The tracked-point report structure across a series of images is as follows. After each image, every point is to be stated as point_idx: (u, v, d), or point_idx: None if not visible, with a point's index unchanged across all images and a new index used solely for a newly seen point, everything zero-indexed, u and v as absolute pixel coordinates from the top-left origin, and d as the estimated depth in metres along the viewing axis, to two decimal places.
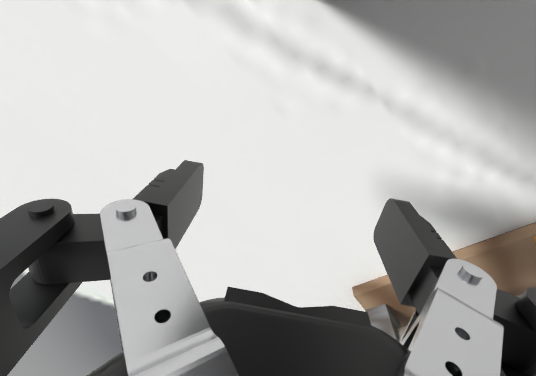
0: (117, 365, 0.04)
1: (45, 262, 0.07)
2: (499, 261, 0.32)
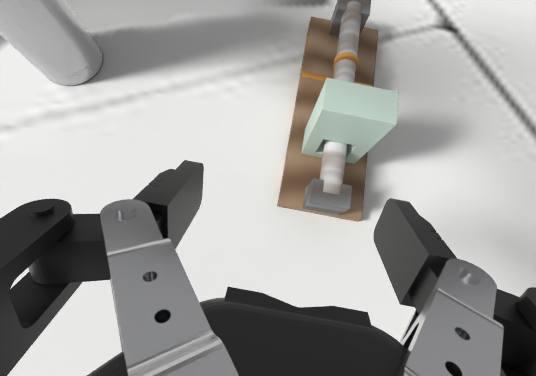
0: (117, 365, 0.04)
1: (45, 262, 0.07)
2: (312, 99, 0.43)
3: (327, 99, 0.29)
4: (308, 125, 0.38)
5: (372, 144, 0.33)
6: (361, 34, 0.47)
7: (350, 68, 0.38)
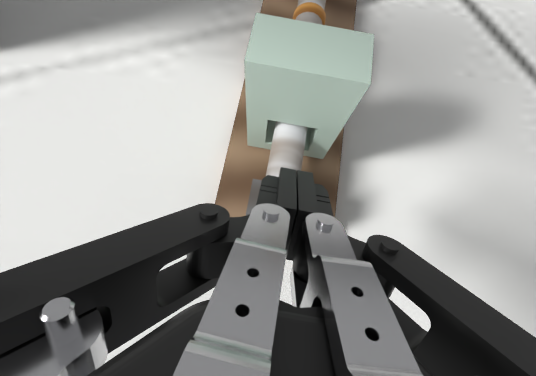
0: (117, 365, 0.04)
1: (210, 259, 0.08)
2: None
3: (254, 45, 0.17)
4: None
5: (340, 125, 0.22)
6: None
7: None
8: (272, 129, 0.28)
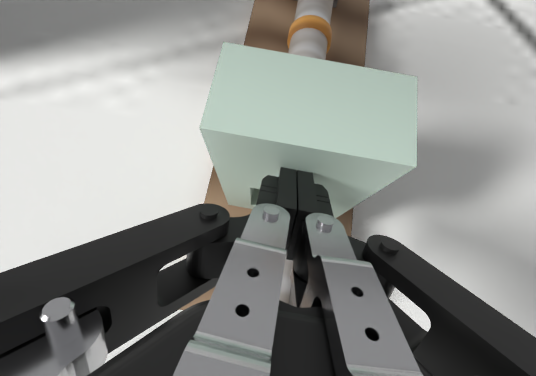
0: (117, 365, 0.04)
1: (210, 259, 0.08)
2: None
3: (218, 100, 0.10)
4: None
5: (356, 200, 0.15)
6: None
7: (314, 45, 0.20)
8: None
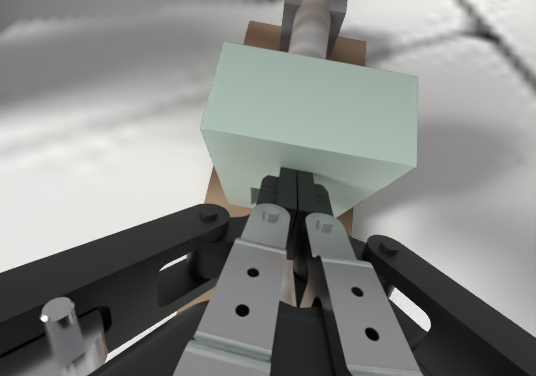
0: (117, 365, 0.04)
1: (210, 259, 0.08)
2: None
3: (218, 99, 0.10)
4: None
5: (356, 200, 0.15)
6: (337, 49, 0.27)
7: None
8: None
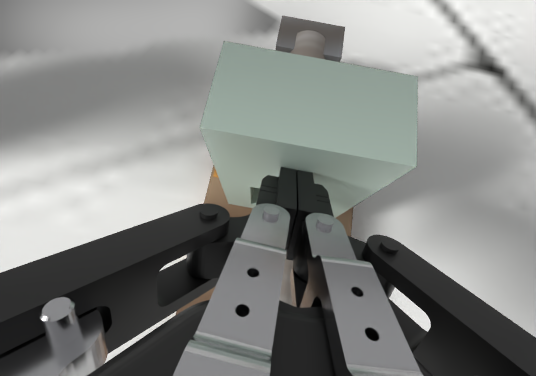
0: (117, 365, 0.04)
1: (210, 260, 0.08)
2: None
3: (218, 99, 0.10)
4: None
5: (356, 200, 0.15)
6: None
7: None
8: None
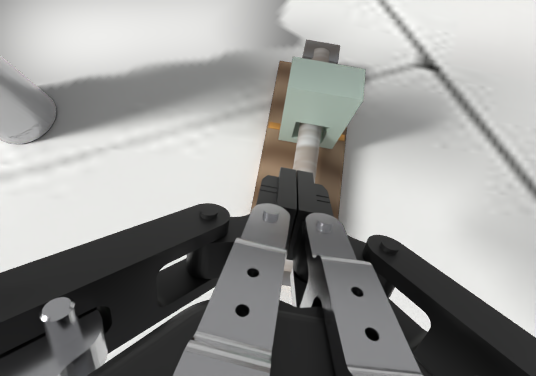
0: (117, 365, 0.04)
1: (210, 259, 0.08)
2: (278, 153, 0.40)
3: (292, 77, 0.29)
4: None
5: (344, 125, 0.33)
6: None
7: (314, 125, 0.35)
8: (296, 128, 0.39)
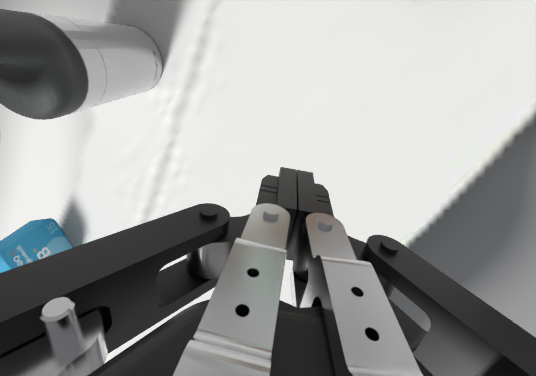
0: (117, 365, 0.04)
1: (210, 259, 0.08)
2: None
3: None
4: None
5: None
6: None
7: None
8: None
